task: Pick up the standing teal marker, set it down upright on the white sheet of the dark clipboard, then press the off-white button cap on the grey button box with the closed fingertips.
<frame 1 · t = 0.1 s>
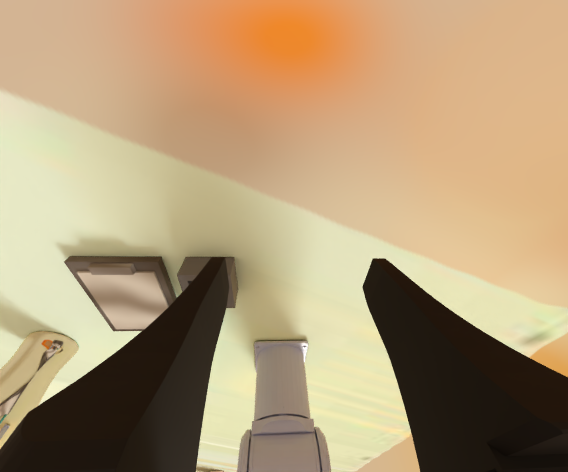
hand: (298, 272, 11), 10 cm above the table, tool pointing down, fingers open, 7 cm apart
supplement bottle: (216, 471, 84), on the table
button box: (213, 274, 25), on the table
beer glass: (55, 341, 31), on the table
clipboard: (136, 295, 26), on the table
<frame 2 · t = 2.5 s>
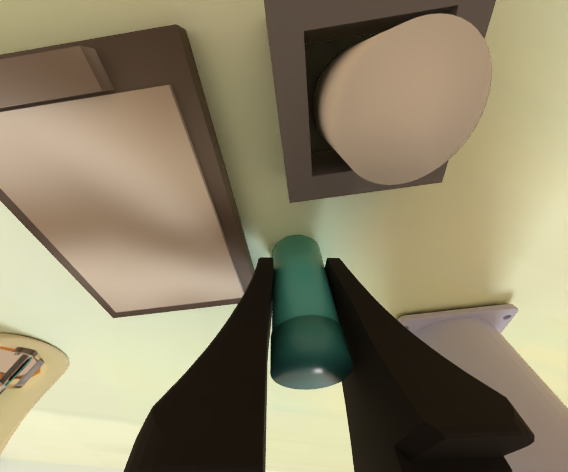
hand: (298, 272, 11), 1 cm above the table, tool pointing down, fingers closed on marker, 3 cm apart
button cap: (378, 107, 6), point 3 cm above the table, slide at 0.0 cm
button box: (345, 99, 8), on the table
beer glass: (26, 352, 17), on the table
marker: (296, 254, 12), on the table, touching gripper
clipboard: (141, 216, 10), on the table
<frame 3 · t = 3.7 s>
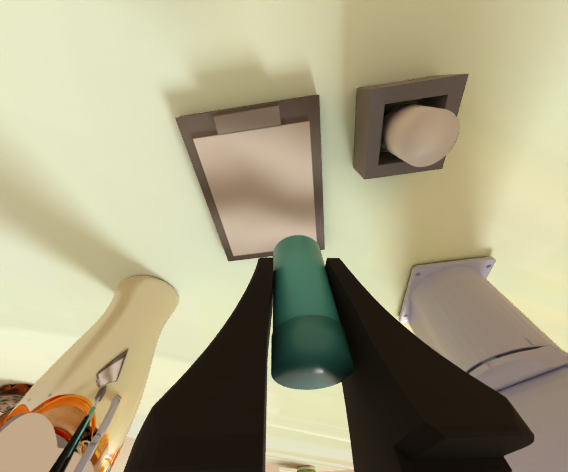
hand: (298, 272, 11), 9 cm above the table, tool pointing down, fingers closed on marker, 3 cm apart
supplement bottle: (305, 466, 76), on the table
button cap: (413, 134, 13), point 3 cm above the table, slide at 0.0 cm
button box: (391, 125, 15), on the table
beer glass: (151, 293, 24), on the table
marker: (296, 254, 12), point 7 cm above the table, touching gripper
clipboard: (264, 191, 18), on the table
dark base with ball: (42, 395, 39), on the table
when the fingers open (3 cm above the table, at t = 5.1 s): marker stays where it is, resting on clipboard.
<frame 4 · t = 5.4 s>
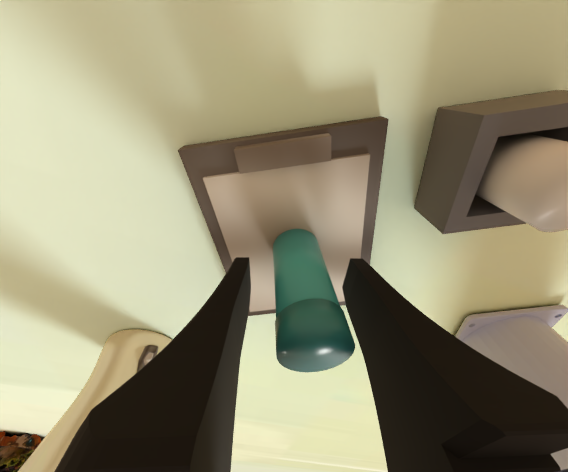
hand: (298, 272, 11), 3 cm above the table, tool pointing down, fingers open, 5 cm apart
button cap: (533, 179, 9), point 3 cm above the table, slide at 0.0 cm
button box: (475, 157, 11), on the table
beer glass: (146, 345, 20), on the table
marker: (295, 248, 13), point 1 cm above the table, touching clipboard
clipboard: (294, 237, 13), on the table
dark base with ball: (23, 439, 34), on the table
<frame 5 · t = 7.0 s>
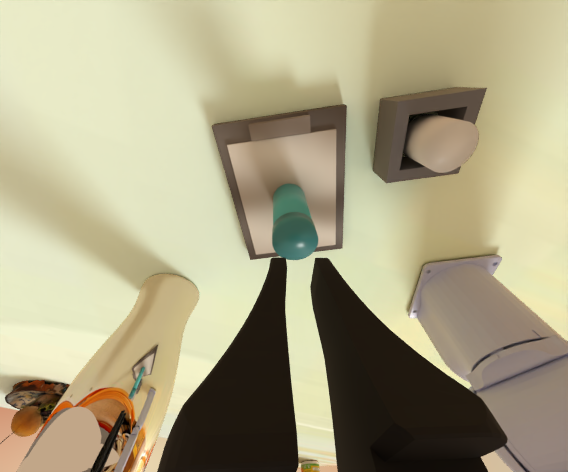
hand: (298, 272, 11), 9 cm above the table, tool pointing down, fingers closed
supplement bottle: (309, 461, 78), on the table
button cap: (434, 142, 14), point 3 cm above the table, slide at 0.0 cm
button box: (410, 133, 16), on the table
beer glass: (172, 290, 25), on the table
marker: (289, 198, 18), point 1 cm above the table, touching clipboard
clipboard: (288, 194, 19), on the table
dark base with ball: (57, 391, 39), on the table
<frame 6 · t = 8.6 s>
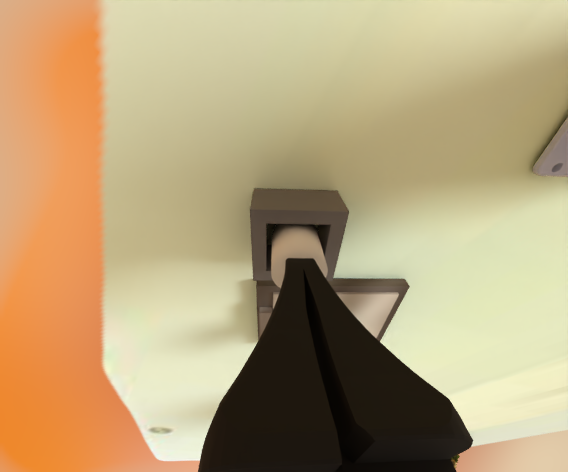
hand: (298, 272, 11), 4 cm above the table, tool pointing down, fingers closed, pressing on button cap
button cap: (296, 252, 12), point 3 cm above the table, slide at -0.1 cm, touching gripper
button box: (293, 225, 15), on the table
clipboard: (323, 313, 20), on the table
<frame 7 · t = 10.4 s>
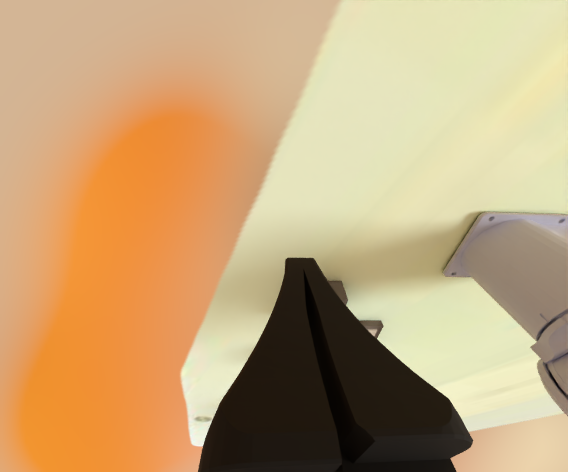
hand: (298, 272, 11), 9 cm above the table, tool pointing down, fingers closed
button box: (316, 295, 26), on the table
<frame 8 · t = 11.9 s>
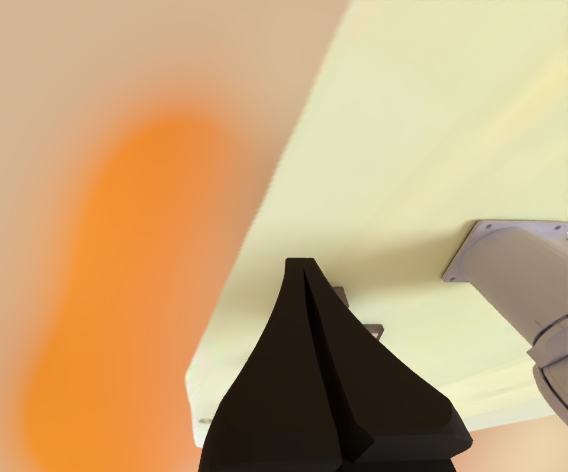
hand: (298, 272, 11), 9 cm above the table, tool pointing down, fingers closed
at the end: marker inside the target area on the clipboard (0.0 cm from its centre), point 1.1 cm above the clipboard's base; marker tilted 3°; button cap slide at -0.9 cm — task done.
